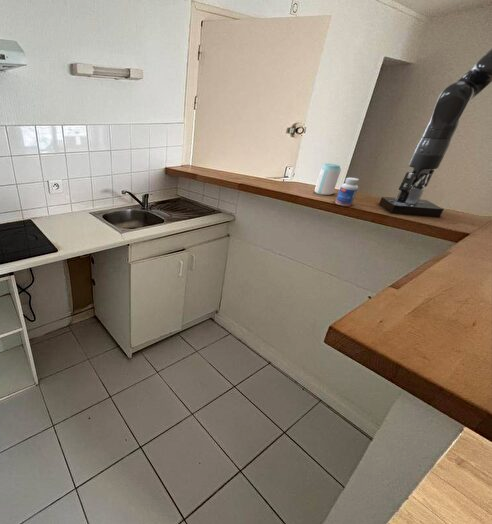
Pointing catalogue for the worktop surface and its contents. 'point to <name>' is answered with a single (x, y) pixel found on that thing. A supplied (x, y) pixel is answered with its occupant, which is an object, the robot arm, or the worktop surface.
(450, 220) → the worktop surface
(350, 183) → the pill bottle
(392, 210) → the base
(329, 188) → the can
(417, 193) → the tap handle
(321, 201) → the worktop surface
